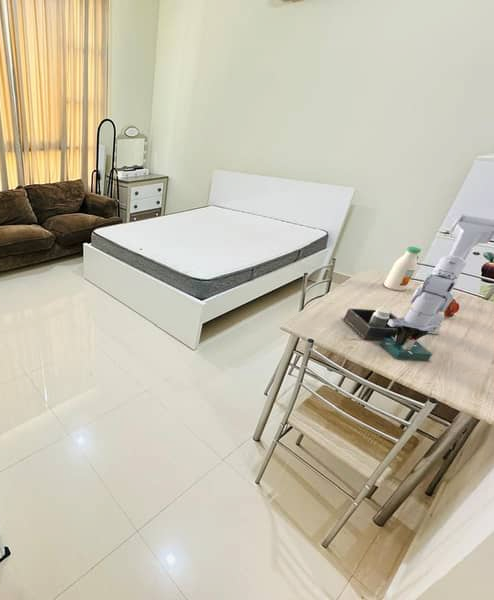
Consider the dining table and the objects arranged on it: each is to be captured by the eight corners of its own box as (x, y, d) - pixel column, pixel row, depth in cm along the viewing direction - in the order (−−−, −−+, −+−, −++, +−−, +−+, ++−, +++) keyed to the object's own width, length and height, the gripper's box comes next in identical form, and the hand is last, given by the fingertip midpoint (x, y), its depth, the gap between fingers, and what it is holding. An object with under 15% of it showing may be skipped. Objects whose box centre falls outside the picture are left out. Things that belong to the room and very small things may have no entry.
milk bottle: (389, 290, 151) (410, 250, 141) (380, 283, 158) (399, 244, 148) (408, 291, 150) (430, 251, 140) (397, 284, 157) (418, 245, 146)
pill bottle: (384, 333, 120) (395, 314, 115) (370, 331, 120) (380, 312, 116) (377, 325, 124) (387, 307, 119) (364, 324, 124) (373, 306, 120)
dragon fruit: (432, 322, 130) (434, 315, 138) (463, 318, 124) (463, 311, 131) (424, 302, 131) (427, 297, 138) (455, 297, 124) (456, 292, 132)
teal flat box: (408, 344, 115) (413, 337, 113) (429, 362, 106) (435, 355, 105) (373, 342, 116) (377, 335, 114) (391, 359, 108) (396, 352, 106)
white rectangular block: (393, 339, 112) (399, 330, 110) (398, 340, 112) (404, 330, 110) (404, 349, 107) (410, 339, 105) (409, 350, 107) (416, 340, 105)
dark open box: (382, 321, 128) (388, 310, 125) (406, 342, 116) (414, 330, 113) (343, 319, 129) (348, 308, 126) (363, 339, 117) (370, 327, 115)
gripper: (407, 315, 100) (387, 349, 107) (457, 319, 99) (434, 353, 105) (391, 304, 106) (373, 337, 113) (439, 307, 105) (418, 340, 111)
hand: (401, 344), depth 110 cm, fingers closed on white rectangular block, 2 cm apart
